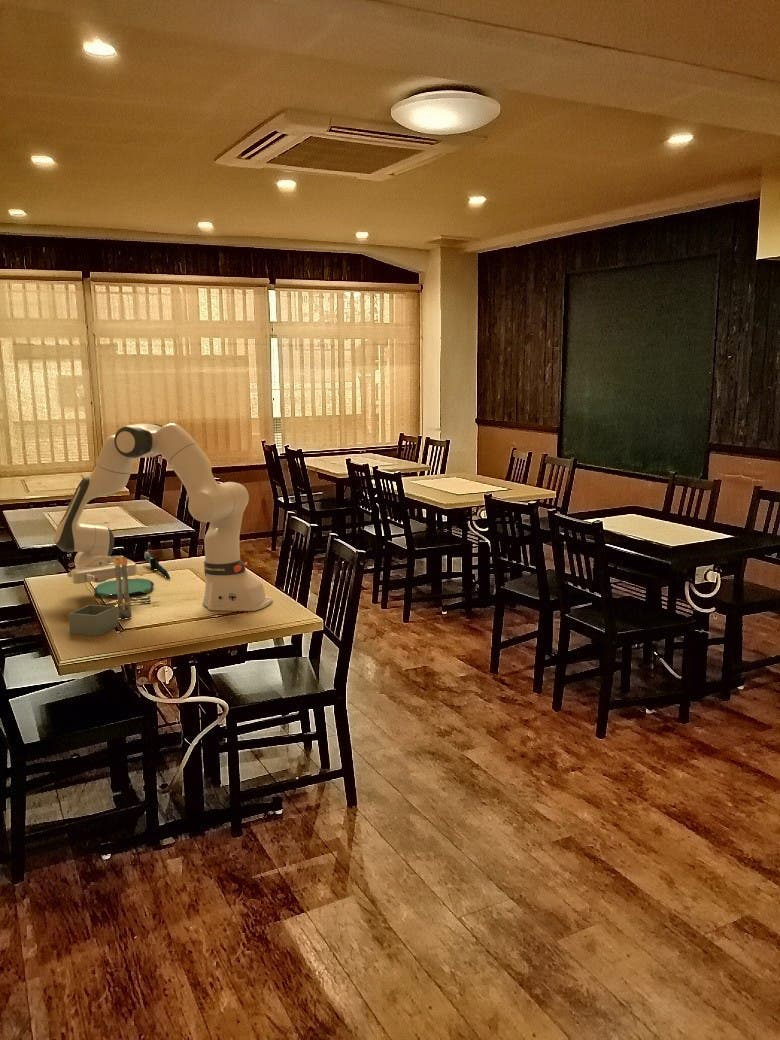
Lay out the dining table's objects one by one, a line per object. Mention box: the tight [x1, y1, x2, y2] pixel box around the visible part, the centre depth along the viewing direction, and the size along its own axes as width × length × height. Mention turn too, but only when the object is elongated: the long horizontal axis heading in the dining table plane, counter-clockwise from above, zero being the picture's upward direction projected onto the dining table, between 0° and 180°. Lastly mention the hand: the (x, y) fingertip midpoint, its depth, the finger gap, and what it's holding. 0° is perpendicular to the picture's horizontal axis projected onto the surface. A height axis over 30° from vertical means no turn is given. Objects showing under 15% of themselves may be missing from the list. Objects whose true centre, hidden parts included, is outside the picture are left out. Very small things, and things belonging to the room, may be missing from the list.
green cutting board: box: [93, 577, 155, 605], centre depth 273 cm, size 20×30×2 cm, turn 19°
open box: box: [67, 603, 119, 637], centre depth 235 cm, size 10×10×6 cm
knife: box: [143, 550, 171, 580], centre depth 302 cm, size 31×3×4 cm, turn 30°
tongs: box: [114, 556, 133, 619], centre depth 245 cm, size 4×4×19 cm
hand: (111, 576), depth 253 cm, fingers open, 8 cm apart
